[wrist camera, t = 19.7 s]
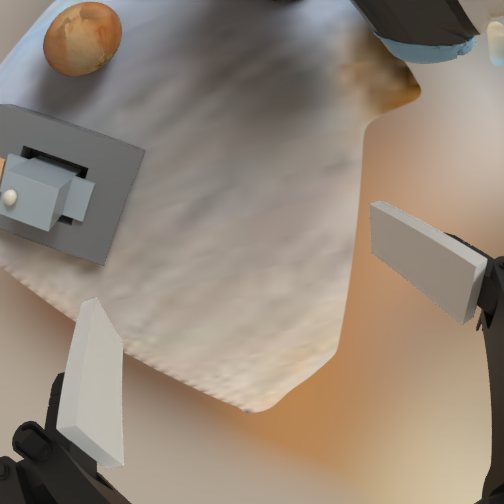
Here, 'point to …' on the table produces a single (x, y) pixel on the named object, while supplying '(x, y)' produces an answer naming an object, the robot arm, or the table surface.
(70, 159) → the pocket block
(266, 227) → the table surface
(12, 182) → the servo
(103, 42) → the onion
